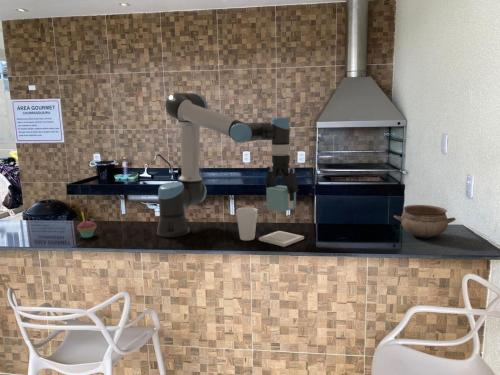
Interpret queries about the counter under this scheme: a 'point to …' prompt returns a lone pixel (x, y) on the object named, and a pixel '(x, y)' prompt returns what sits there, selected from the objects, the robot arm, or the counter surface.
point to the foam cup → (247, 222)
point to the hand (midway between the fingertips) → (281, 206)
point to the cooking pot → (424, 220)
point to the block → (278, 198)
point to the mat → (281, 238)
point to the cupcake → (86, 228)
